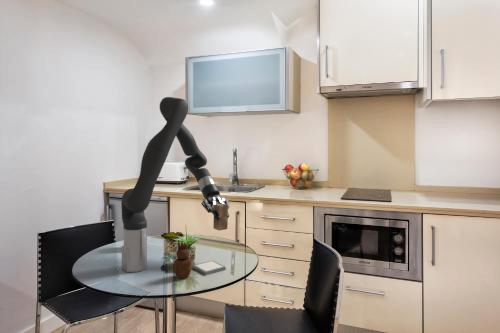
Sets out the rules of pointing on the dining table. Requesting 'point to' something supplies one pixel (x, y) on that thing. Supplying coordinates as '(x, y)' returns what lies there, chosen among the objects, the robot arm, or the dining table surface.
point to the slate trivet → (209, 267)
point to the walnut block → (221, 217)
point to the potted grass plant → (182, 261)
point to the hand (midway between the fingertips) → (223, 218)
